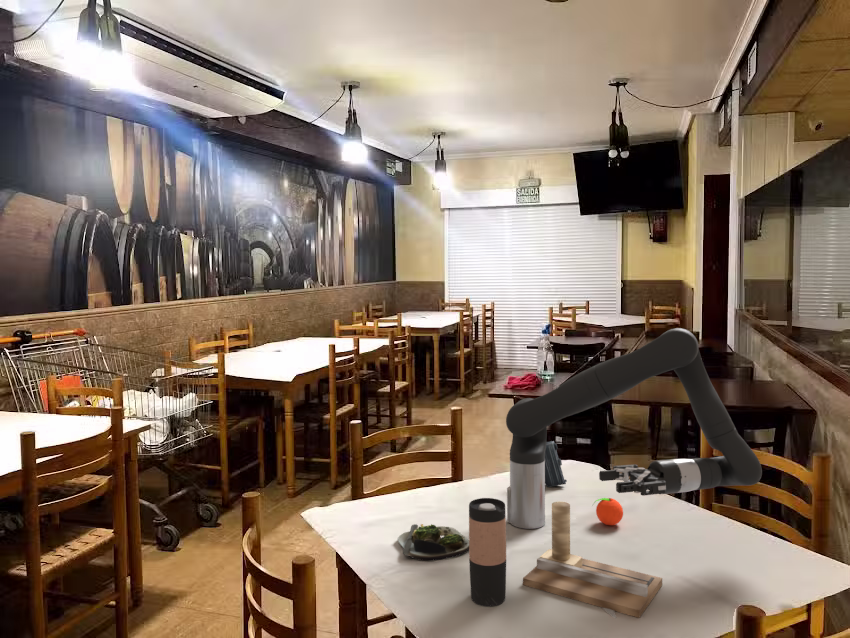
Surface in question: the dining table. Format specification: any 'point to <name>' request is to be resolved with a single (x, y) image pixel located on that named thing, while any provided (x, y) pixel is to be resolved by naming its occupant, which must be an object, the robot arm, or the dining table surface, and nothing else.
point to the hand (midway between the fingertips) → (608, 481)
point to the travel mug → (487, 551)
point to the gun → (553, 466)
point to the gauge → (561, 537)
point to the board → (596, 584)
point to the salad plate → (433, 542)
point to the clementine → (609, 511)
